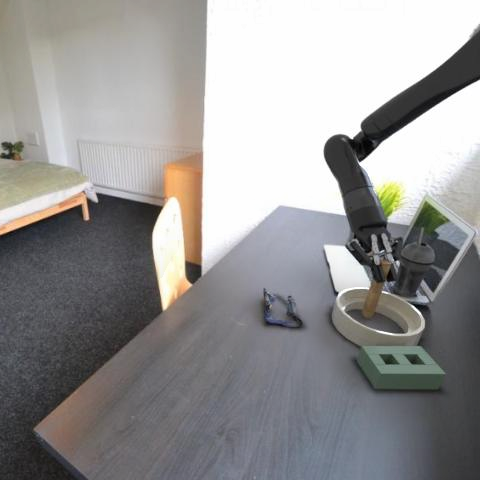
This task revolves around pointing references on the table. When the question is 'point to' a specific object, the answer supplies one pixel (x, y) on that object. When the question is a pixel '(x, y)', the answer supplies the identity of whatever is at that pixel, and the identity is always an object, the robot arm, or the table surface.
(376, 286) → the stirring stick
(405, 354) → the stick stand
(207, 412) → the table surface
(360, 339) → the cream ring
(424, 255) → the beverage cup
